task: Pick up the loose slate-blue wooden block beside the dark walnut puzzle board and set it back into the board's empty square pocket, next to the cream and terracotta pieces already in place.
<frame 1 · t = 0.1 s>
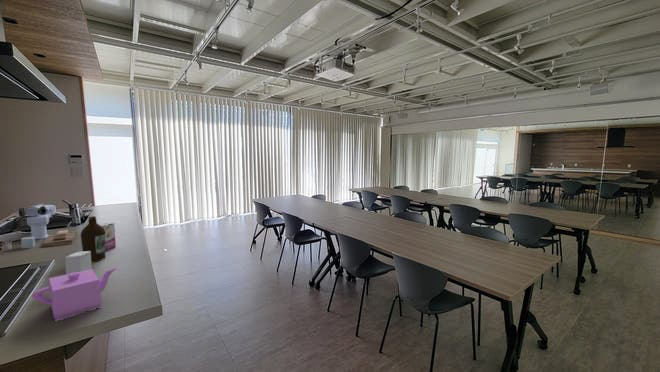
hand: (29, 212, 175), 22 cm above the counter, tool horizontal, fingers open, 7 cm apart
teapot: (79, 306, 109), on the counter
olive oil: (94, 259, 156), on the counter
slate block: (28, 247, 174), on the counter
skincare box: (80, 284, 126), on the counter
puzzle board: (61, 240, 188), on the counter
candy bar box: (105, 250, 172), on the counter
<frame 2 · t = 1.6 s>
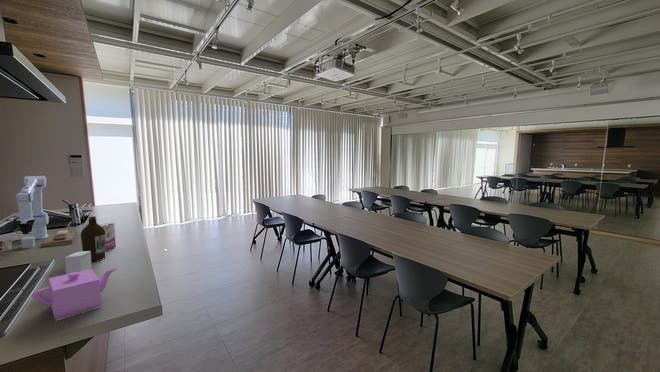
hand: (27, 232, 173), 9 cm above the counter, tool pointing down, fingers open, 7 cm apart
nothing on the counter moved.
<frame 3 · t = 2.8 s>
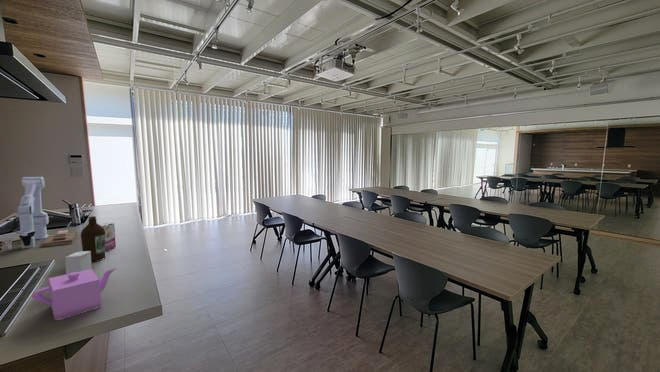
hand: (28, 244, 174), 2 cm above the counter, tool pointing down, fingers closed on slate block, 5 cm apart
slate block: (28, 246, 174), on the counter, touching gripper
everything else where it was.
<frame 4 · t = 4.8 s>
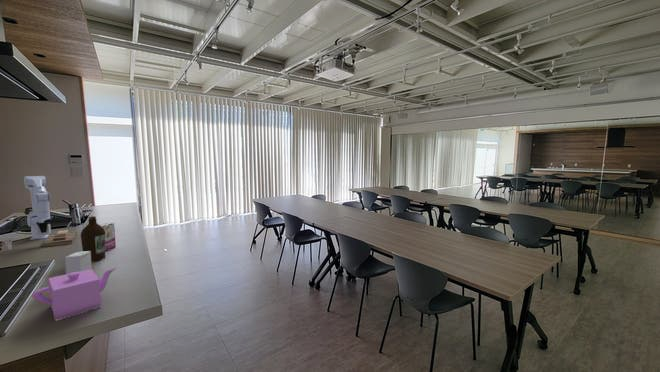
hand: (44, 231, 178), 9 cm above the counter, tool pointing down, fingers closed on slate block, 5 cm apart
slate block: (44, 234, 178), point 7 cm above the counter, touching gripper
everything else where it was.
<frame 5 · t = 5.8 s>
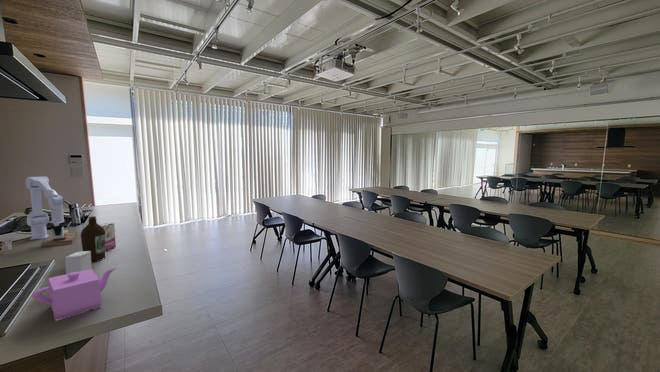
hand: (58, 234, 183), 6 cm above the counter, tool pointing down, fingers closed on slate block, 5 cm apart
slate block: (58, 236, 183), point 4 cm above the counter, touching gripper
everything else where it was.
when the fingers open (4 cm above the counter, at t = 6.7 s): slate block drops 1 cm, resting on puzzle board.
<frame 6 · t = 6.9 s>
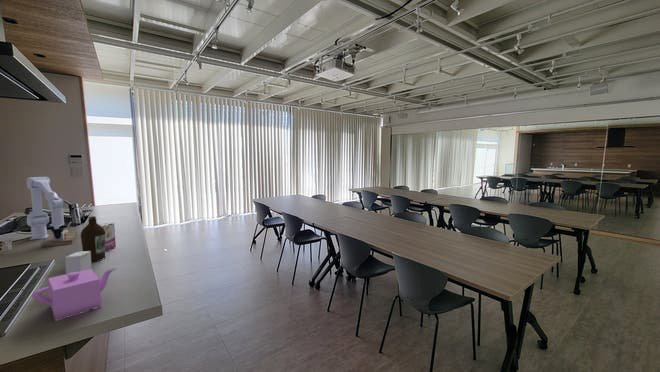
hand: (59, 237, 183), 4 cm above the counter, tool pointing down, fingers open, 7 cm apart
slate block: (58, 241, 183), point 1 cm above the counter, touching puzzle board
everything else where it was.
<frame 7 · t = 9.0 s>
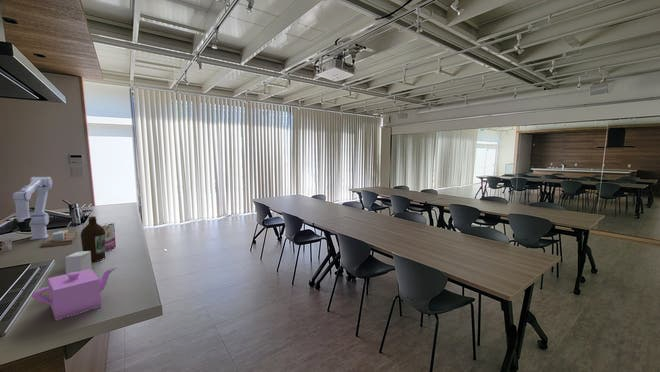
hand: (24, 230, 177), 9 cm above the counter, tool pointing down, fingers open, 7 cm apart
nothing on the counter moved.
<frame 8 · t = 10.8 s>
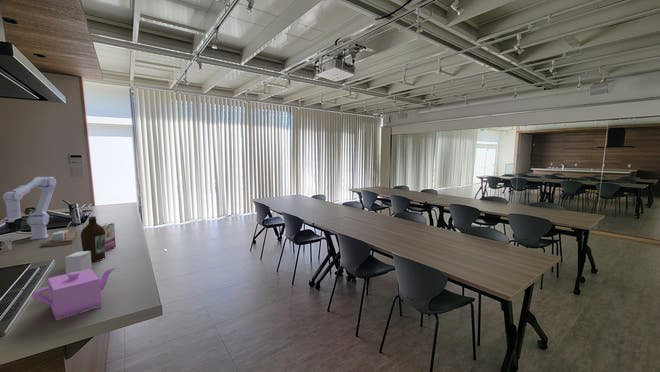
hand: (15, 230, 176), 9 cm above the counter, tool pointing down, fingers open, 7 cm apart
nothing on the counter moved.
at the end: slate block 0.2 cm from the target spot on the puzzle board, point 1.0 cm above the puzzle board's base; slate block tilted 0°; the gripper is holding nothing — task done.
